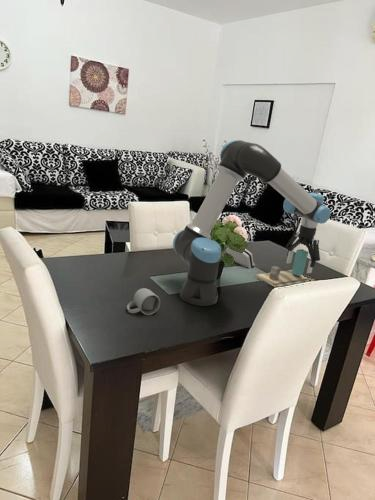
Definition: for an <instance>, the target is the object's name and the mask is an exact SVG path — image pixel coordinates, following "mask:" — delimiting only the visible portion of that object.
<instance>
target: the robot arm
mask: <svg viewBox="0 0 375 500" xmlns="http://www.w3.org/2000/svg"><path fill="white" fill-rule="evenodd" d="M220 150H221V151H220V154H219V155H220V158H219V159H220V162H219V164H218V171H219V172H218V174H217V176H216V178H215V180H213V181H214V182H213V183H212V185H211V187H210V189H209V191H208V192H207V194H206V196H205V198H204V200H202V201H203V202H202V204H201V205H200V207H199V209H198V211H197V213H196V214H195V216H194V218H193V220H192V222H191V223H188V224H186V225H185V226H184V229H183V230H179V232H177V233H176V234H175V236H174V237H173V242H172V247H173V250H174V252H175V253H176V255H177V256H178V257H179V258H180V260H183V262H185V264H187V266H188V267H187V268H188V269H187V275H186V278H185V281H184V283H183V284H182V287H181V288H180V291H179V292H180V293H179V296H180V299H181V300H183V301H184V302H185V303H187V304H190V305H193V306H198V307H210V306H213V305H215V304H217V302H218V296H219V293H218V287H217V278H218V272H219V268H220V261H221V257H222V247H221V245H220V243H218V241H215V240H214V239H212V237H211V231H212V230H213V228H214V227H215V225H216V223H217V221H218V219H219V217H220V215H221V214H222V212H223V210H224V208H225V206H226V204H227V203H228V201H229V199H230V197H231V195H232V193H233V192H234V190H235V188H236V186H237V184H238V183H239V182H241V181H243V180H245V178H246V176H247V175H250V176H253V177H255V178H257V179H259V180H260V181H261V182H262V183H264V184H269V185H270V186H271V187H272V188H273V189H274V190H276V191H277V192H278V193H279V194H280V195H281V196H282V197H283V198H285V199H284V201H283V205H282V206H283V211H284V212H286V213H287V214H292V215H293V214H295V215H297V216H300V217H302V218H301V221H300V224H301V225H299V231H294V232H293V234H292V236H291V238H290V239H289V240H288V242H287V243H286V245H285V248H286V249H287V253H286V254H287V255H286V256H287V257H286V264H292V261H293V255H294V252H295V251H294V250H295V248H297V247H298V246H299V245H303V246H305V247H306V248H307V250H308V251H307V252H308V255H309V257H310V259H309V261H308V265H307V269H306V274H312V272H313V268H315V265H316V262H319V261H321V255H320V247H319V243H320V240H319V239H315V235H316V233H317V227H318V225H319V224H325V223H326V222H328V221H329V219H330V217H331V210H330V208H329V207H328V206H325V204H324V201H325V196H324V195H323V194H321V193H320V194H319V193H315V192H308V191H307V190H305V188H304V187H302V186H301V185H300V184H299V183H298V182H297V181H296V180H295V179H294V177H292V176H291V175H290V174H288V172H286V171H285V170H284V169H283V168H282V163H281V162H280V161H279V160H278V159H277V158H276V157H275V156H273V155H272V154H271V153H270V151H268V150H267V149H265V148H264V147H263V146H262V145H260V144H258V143H254V142H248V141H244V140H241V139H237V140H230V141H228V142H227V143H225V144H224V145H223V147H222V149H220ZM297 238H298V239H297Z"/></svg>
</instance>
